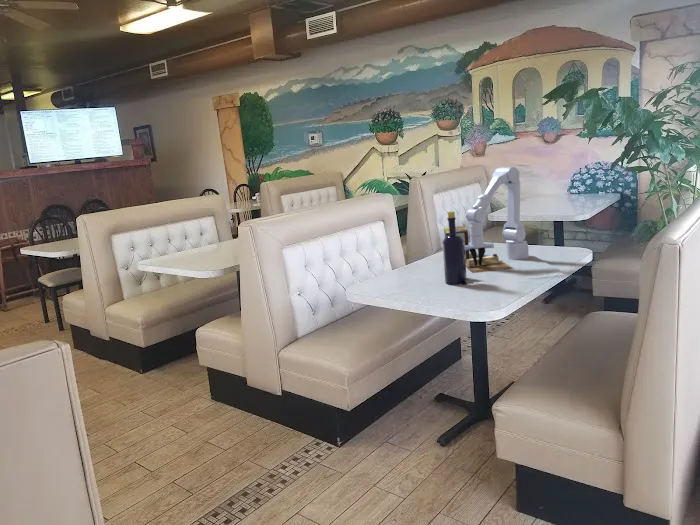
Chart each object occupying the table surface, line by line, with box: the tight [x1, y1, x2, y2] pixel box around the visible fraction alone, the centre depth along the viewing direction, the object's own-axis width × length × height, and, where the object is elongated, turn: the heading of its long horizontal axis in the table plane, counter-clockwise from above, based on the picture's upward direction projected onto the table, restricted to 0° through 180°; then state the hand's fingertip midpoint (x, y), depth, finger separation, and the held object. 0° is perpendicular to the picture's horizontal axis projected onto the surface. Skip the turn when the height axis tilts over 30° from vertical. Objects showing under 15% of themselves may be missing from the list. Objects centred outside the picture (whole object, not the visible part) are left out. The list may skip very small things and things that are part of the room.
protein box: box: [443, 225, 471, 261], centre depth 278 cm, size 10×15×16 cm
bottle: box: [442, 210, 468, 286], centre depth 234 cm, size 9×9×30 cm
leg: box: [465, 253, 500, 267], centre depth 257 cm, size 14×3×4 cm, turn 101°
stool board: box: [466, 260, 514, 274], centre depth 254 cm, size 18×18×1 cm
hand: (478, 264), depth 253 cm, fingers closed
